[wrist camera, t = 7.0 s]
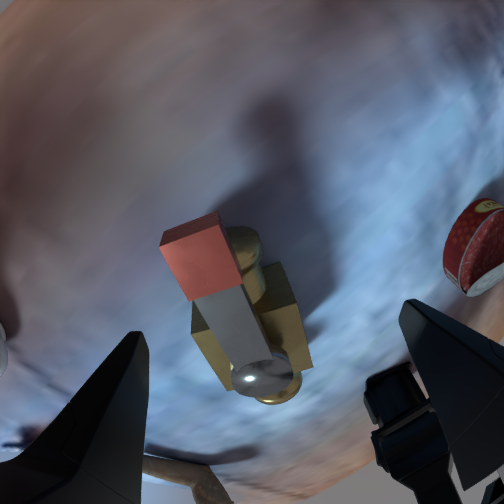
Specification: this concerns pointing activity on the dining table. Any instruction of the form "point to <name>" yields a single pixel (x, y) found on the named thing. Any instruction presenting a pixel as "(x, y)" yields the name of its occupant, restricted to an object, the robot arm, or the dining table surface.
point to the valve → (260, 315)
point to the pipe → (188, 478)
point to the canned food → (476, 248)
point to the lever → (225, 304)
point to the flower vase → (3, 351)
